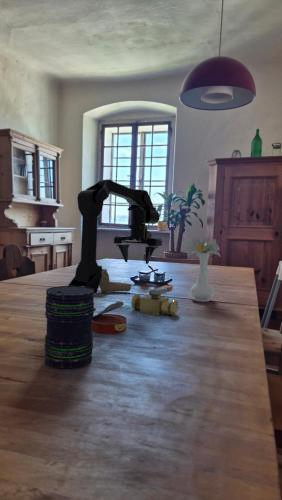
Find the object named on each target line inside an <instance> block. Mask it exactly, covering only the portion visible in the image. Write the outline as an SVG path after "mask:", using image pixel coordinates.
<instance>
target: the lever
mask: <svg viewBox="0 0 282 500" xmlns="http://www.w3.org/2000/svg"><path fill="white" fill-rule="evenodd" d="M172 291H173V285H162V286H161V287H160V286H159V287H157V288H153V289H152V288H151V289H149V290H148V295H151V296H162V294H164V293H165V294H166V293H169V292H172Z"/></svg>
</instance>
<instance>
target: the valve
mask: <svg viewBox="0 0 282 500" xmlns="http://www.w3.org/2000/svg"><path fill="white" fill-rule="evenodd" d="M169 299H170V297H169V296H164V295H160V296H151V295H149V294H147V295H145V296H141V295H140V294H134V295H133V296H132V298H131V303H130V304H131V309H133V310H139V313H140V314H146V315H151V316H152V315H153V316H157V317H160V316H163V315H167V316H172V317H175V316H176V315H177V313H178V310H179V302H178V300H176V299H175V300H174V299H172V300H171V301H170V302H169Z"/></svg>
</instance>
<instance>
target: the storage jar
mask: <svg viewBox="0 0 282 500" xmlns="http://www.w3.org/2000/svg"><path fill="white" fill-rule="evenodd" d="M94 294H95V293H94V289H92V288H89V287H84V286H68V285H58V286H52V287H49V288H47V289H46V291H45V295H46V296H45V301H46V302H45V303H44V304H45V305H44V308H45V313H44V315H45V319H46V333H45V336H44V352H45V353H44V357H45V358H44V363H45V366H47V367H48V368H50V369H52V370H58V371H73V370H74V371H75V370H79V369H83V368H85V367H88V366H90V365H91V363H92V361H93V357H92V355H93V349H94V342H93V341H94V335H93V333H92V332H93V331H92V317H93V316H94V313H95V312H94V311H93V308H95V299H94Z"/></svg>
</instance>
